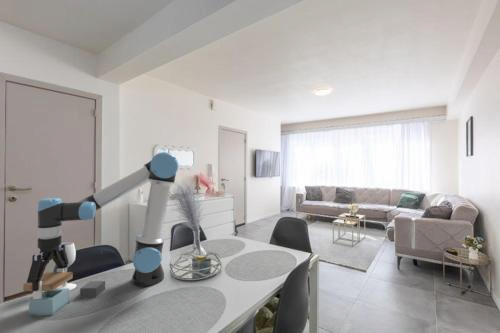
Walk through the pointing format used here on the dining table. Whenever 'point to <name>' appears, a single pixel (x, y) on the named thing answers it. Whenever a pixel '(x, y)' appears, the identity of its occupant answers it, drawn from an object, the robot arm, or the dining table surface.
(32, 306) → the dish
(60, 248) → the robot arm
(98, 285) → the gray square block
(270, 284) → the dining table surface
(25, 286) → the lid
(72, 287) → the wineglass
